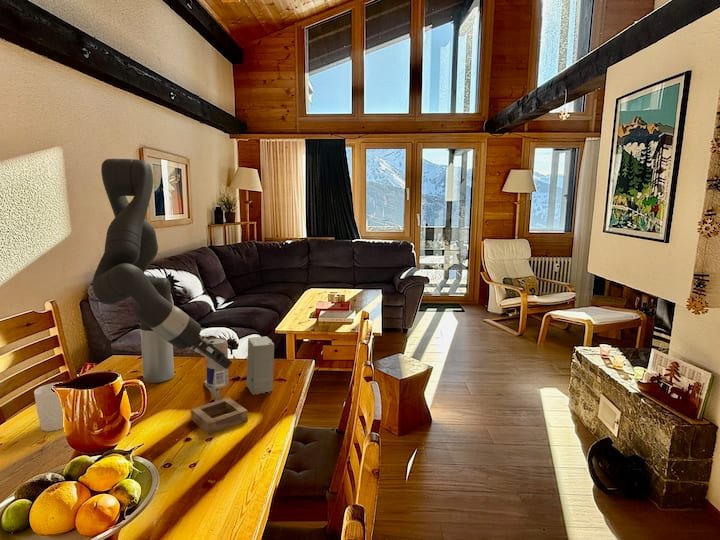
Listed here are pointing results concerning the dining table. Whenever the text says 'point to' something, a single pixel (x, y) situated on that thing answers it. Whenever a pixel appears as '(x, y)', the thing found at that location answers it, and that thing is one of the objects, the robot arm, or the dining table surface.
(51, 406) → the white cup
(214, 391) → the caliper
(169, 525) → the dining table surface
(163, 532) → the dining table surface
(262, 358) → the skincare box
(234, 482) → the dining table surface
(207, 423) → the square open tray
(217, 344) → the energy drink
